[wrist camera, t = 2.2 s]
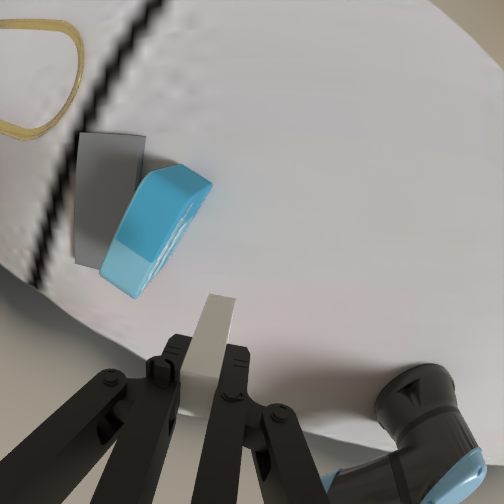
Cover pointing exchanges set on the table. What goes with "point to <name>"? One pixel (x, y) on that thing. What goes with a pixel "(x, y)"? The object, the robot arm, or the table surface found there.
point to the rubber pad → (103, 191)
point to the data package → (153, 227)
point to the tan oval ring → (74, 34)
